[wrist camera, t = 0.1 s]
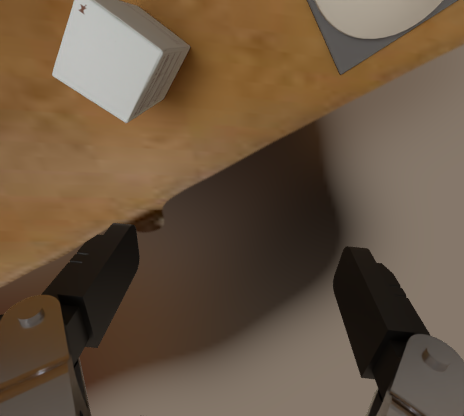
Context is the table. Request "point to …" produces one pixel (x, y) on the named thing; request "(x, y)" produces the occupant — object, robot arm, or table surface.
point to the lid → (374, 15)
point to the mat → (357, 40)
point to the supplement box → (118, 56)
